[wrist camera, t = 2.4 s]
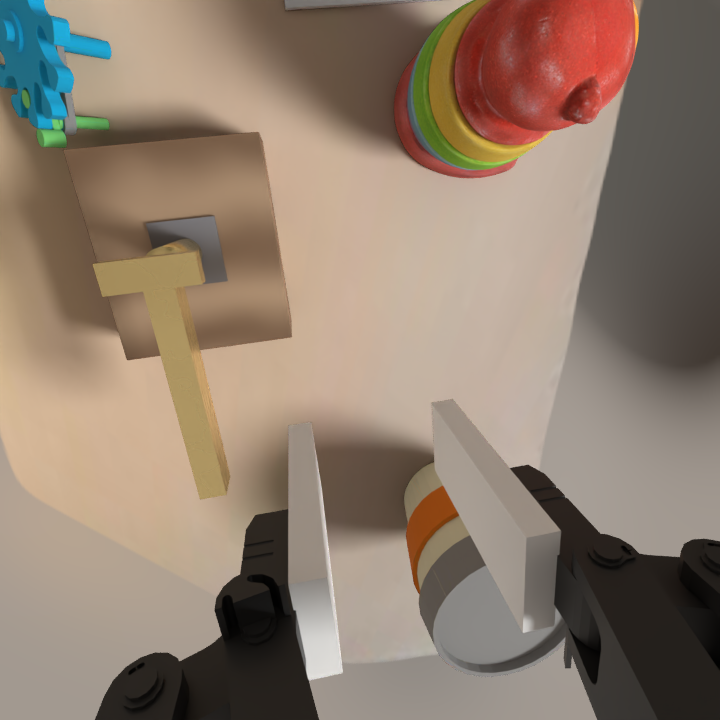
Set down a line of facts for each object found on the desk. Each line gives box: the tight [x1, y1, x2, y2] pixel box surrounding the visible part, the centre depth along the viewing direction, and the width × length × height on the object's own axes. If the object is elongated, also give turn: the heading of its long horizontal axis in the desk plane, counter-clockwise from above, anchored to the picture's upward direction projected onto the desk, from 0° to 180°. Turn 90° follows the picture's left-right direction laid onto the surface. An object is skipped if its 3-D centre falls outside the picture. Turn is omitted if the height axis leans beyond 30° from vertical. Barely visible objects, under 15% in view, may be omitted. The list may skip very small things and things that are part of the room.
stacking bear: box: [394, 0, 639, 178], centre depth 27 cm, size 11×10×18 cm
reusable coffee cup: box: [404, 462, 567, 677], centre depth 40 cm, size 12×13×15 cm
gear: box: [0, 0, 111, 148], centre depth 28 cm, size 11×6×10 cm
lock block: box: [63, 132, 292, 360], centre depth 33 cm, size 14×12×5 cm
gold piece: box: [92, 239, 230, 499], centre depth 28 cm, size 15×5×9 cm, turn 6°
